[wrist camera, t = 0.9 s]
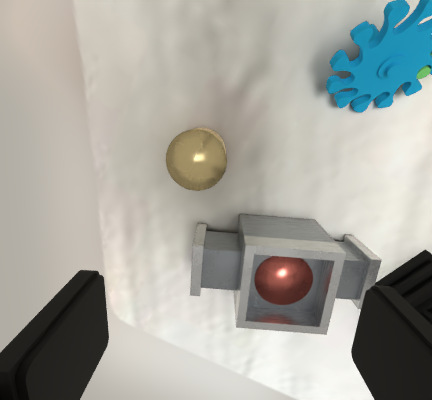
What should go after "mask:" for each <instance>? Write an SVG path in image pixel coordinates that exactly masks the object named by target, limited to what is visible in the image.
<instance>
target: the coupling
mask: <svg viewBox="0 0 432 400" xmlns="http://www.w3.org/2000/svg"><path fill="white" fill-rule="evenodd" d="M166 164H167V169H168V171H169V174H170V175H171V177H172V178H173V179H174V181H175V182H176V183H178V184H179V185H180V186H182V187H184V188H186V189H189V190H198V191H199V190H205V189H208V188H210V187H212V186H214V185H215V184H216V183H217V182H218V181H219V180H220V179H221V178H222V176H223V175H224V172H225V169H226V165H227V157H226V148H225V144H224V141H223V139H222V138H221V136H220V135H219V134H218V133H216V132H215V131H213V130H211V129H208V128H196V129H192V130H188V131H185V132H183V133H181V134H179V135H178V136H177V137H175V138H174V140H173V141H172V142H171V143H170V145H169V147H168V150H167V154H166Z"/></svg>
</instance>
